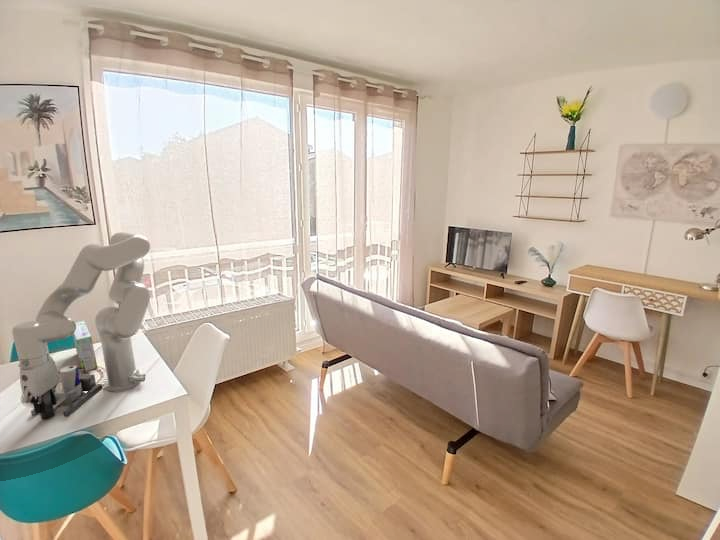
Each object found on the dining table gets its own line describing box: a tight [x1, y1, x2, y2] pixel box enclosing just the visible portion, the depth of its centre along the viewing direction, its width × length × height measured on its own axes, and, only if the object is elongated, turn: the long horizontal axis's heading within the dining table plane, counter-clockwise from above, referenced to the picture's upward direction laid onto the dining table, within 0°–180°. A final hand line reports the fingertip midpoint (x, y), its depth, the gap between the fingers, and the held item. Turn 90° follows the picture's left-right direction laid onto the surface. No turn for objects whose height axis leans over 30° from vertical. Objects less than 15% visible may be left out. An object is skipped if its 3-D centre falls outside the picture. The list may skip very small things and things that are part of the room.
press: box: [30, 373, 103, 418], centre depth 136 cm, size 12×17×6 cm
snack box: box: [72, 320, 99, 373], centre depth 163 cm, size 21×6×15 cm, turn 42°
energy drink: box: [59, 364, 84, 399], centre depth 137 cm, size 5×5×12 cm
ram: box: [35, 388, 78, 421], centre depth 129 cm, size 8×10×10 cm
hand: (46, 408), depth 127 cm, fingers closed on ram, 3 cm apart
